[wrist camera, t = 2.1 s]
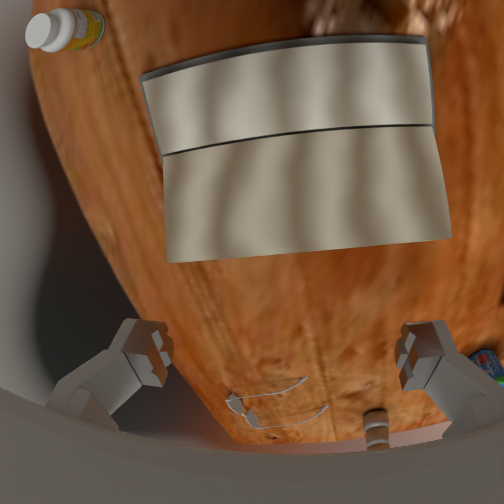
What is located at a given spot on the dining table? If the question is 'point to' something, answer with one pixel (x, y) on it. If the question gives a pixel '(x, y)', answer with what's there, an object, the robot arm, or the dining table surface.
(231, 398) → the eyeglasses
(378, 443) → the plastic bottle
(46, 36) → the supplement bottle
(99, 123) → the dining table surface
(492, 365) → the snack cup
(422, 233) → the loose plank
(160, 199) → the dining table surface
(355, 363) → the dining table surface
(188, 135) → the floor panel
